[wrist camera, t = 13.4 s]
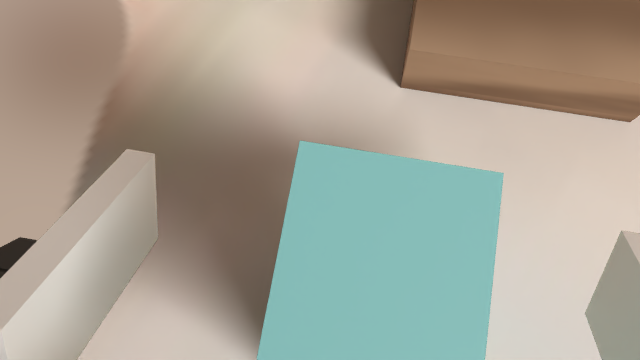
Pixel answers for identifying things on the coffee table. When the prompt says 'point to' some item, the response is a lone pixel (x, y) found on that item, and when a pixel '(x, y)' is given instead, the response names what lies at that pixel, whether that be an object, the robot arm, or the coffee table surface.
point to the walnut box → (529, 53)
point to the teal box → (382, 259)
